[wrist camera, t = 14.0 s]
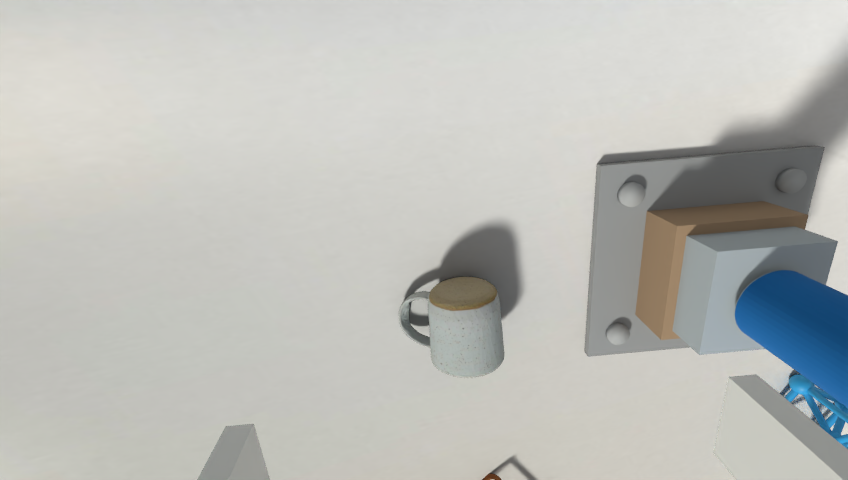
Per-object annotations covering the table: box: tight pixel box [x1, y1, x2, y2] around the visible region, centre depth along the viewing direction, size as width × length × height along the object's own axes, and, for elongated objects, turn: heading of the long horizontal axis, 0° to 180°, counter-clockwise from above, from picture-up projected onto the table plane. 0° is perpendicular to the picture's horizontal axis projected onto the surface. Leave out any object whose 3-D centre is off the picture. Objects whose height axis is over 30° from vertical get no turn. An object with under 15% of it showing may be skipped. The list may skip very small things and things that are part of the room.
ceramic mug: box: [399, 277, 504, 378], centre depth 43 cm, size 11×8×8 cm
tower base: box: [585, 146, 838, 356], centre depth 40 cm, size 22×22×10 cm
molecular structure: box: [784, 375, 848, 449], centre depth 49 cm, size 10×10×10 cm
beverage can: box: [734, 270, 848, 408], centre depth 30 cm, size 6×6×12 cm
